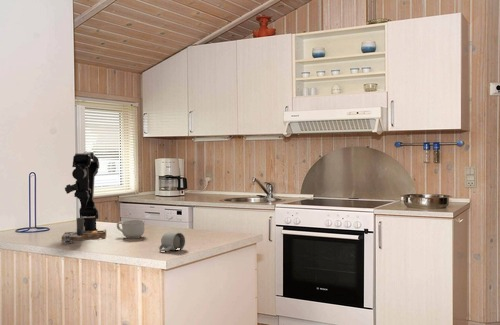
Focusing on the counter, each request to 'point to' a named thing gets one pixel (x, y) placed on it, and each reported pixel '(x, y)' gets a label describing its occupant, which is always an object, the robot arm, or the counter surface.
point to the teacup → (132, 228)
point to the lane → (88, 235)
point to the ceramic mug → (172, 241)
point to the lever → (79, 231)
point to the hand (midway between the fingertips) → (83, 209)
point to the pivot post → (67, 241)
